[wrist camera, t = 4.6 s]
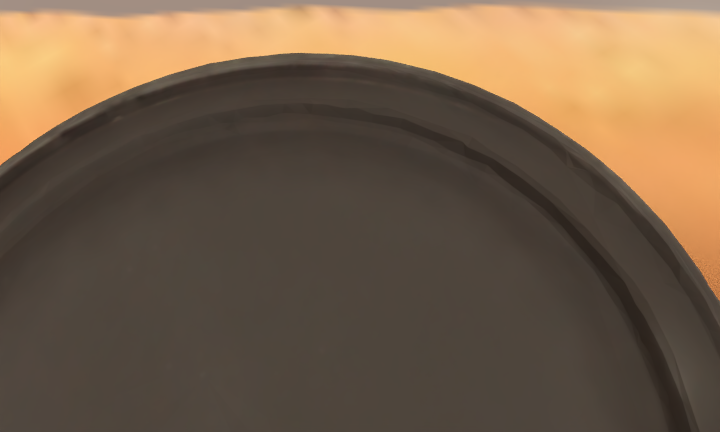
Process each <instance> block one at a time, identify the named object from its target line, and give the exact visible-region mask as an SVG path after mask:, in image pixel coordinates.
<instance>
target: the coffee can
mask: <svg viewBox="0 0 720 432" xmlns="http://www.w3.org/2000/svg"><path fill="white" fill-rule="evenodd" d="M0 432H720V301H719V300H718V298H717V297H716V296H715V294H714V293H713V291H712V290H711V288H710V287H709V285H708V284H707V282H706V280H705V278H704V277H703V275H702V273H701V271H700V270H699V269H698V267H697V266H696V265H695V263H694V262H693V261H692V259H691V258H690V257H689V255H688V254H687V253H686V251H685V250H684V248H683V247H682V246H681V244H680V243H679V242H678V240H677V239H676V238H675V236H674V235H673V234H672V233H671V231H670V230H669V229H668V227H667V226H666V225H665V224H664V223H663V221H662V220H661V219H660V218H659V217H658V216H657V215H656V214H655V213H654V212H653V211H652V210H651V208H650V207H649V206H648V205H647V204H646V203H645V202H644V201H643V200H642V199H641V198H640V197H639V196H638V195H637V194H636V193H635V192H634V191H633V190H632V189H631V188H630V187H629V186H628V185H627V184H626V183H625V182H624V181H623V180H622V179H621V178H620V177H619V176H618V175H616V174H615V173H614V172H613V171H612V170H611V169H609V168H608V167H607V166H606V165H605V164H604V163H602V162H601V161H600V160H599V159H598V158H596V157H595V156H594V155H593V154H591V153H590V152H589V151H588V150H586V149H585V148H584V147H582V146H581V145H579V144H578V143H576V142H575V141H573V140H572V139H570V138H569V137H568V136H566V135H565V134H563V133H562V132H561V131H559V130H558V129H556V128H554V127H553V126H551V125H550V124H548V123H546V122H545V121H543V120H542V119H540V118H539V117H537V116H536V115H534V114H532V113H530V112H529V111H527V110H525V109H523V108H522V107H520V106H518V105H517V104H515V103H513V102H511V101H509V100H506V99H504V98H502V97H499V96H497V95H495V94H493V93H490V92H488V91H486V90H483V89H481V88H479V87H477V86H475V85H472V84H469V83H466V82H463V81H461V80H458V79H455V78H452V77H449V76H446V75H443V74H441V73H438V72H435V71H430V70H426V69H422V68H418V67H414V66H410V65H406V64H402V63H397V62H393V61H388V60H383V59H375V58H368V57H361V56H354V55H338V54H312V53H290V54H277V55H269V56H259V57H247V58H241V59H235V60H229V61H223V62H217V63H210V64H206V65H203V66H199V67H195V68H192V69H188V70H185V71H181V72H178V73H174V74H171V75H167V76H165V77H162V78H159V79H156V80H154V81H151V82H148V83H145V84H142V85H140V86H137V87H134V88H132V89H130V90H127V91H125V92H123V93H120V94H118V95H116V96H113V97H111V98H109V99H107V100H105V101H103V102H101V103H98V104H96V105H94V106H92V107H90V108H88V109H86V110H84V111H82V112H80V113H79V114H77V115H75V116H73V117H71V118H70V119H68V120H66V121H64V122H63V123H61V124H59V125H57V126H56V127H54V128H53V129H51V130H50V131H48V132H46V133H45V134H43V135H42V136H40V137H39V138H37V139H36V140H34V141H33V142H32V143H30V144H29V145H28V146H26V147H25V148H24V149H23V150H21V151H20V152H18V153H16V154H15V155H14V156H12V157H11V158H10V159H8V160H7V161H6V162H4V163H3V164H2V165H1V166H0Z"/></svg>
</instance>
